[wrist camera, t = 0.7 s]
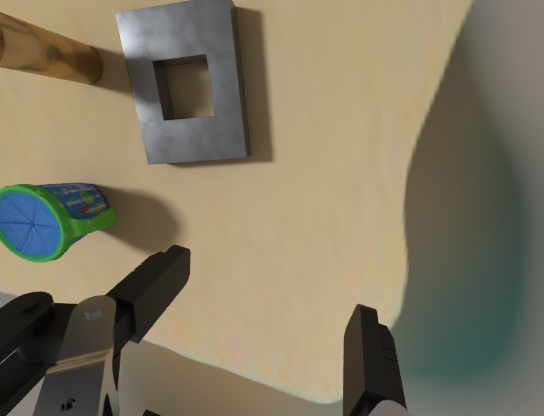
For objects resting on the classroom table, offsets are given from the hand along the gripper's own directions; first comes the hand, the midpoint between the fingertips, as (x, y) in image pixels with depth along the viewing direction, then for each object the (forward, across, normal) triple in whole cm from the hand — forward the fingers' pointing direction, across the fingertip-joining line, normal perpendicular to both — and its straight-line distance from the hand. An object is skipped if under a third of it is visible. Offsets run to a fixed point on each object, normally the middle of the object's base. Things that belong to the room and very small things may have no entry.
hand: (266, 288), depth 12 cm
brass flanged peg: (+24, +34, -5) cm, 42 cm away
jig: (+26, +18, -4) cm, 32 cm away
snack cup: (+21, +34, +16) cm, 43 cm away
